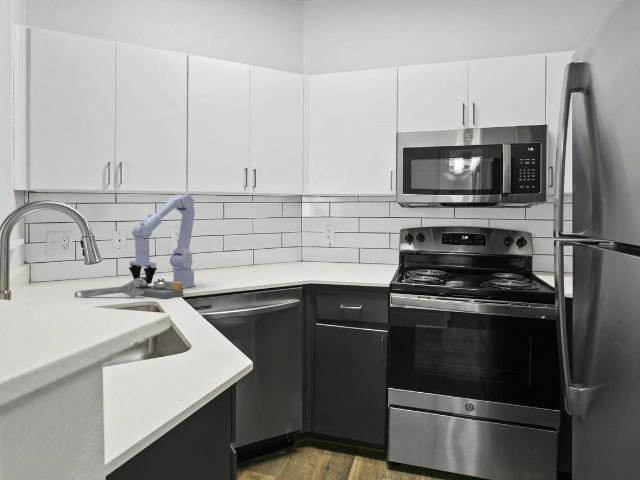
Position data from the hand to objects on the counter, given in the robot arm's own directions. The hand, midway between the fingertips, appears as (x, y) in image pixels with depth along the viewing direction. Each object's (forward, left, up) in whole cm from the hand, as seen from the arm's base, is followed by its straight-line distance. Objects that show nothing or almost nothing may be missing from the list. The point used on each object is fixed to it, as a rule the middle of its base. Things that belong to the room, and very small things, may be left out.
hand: (143, 283), depth 206 cm
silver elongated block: (-2, +13, -2) cm, 13 cm away
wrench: (+14, -4, -5) cm, 15 cm away
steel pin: (0, 0, -5) cm, 4 cm away
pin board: (0, +7, -5) cm, 8 cm away
